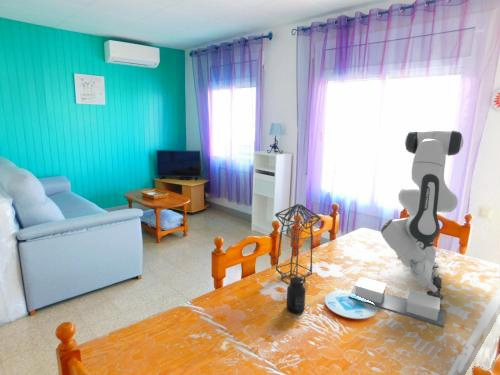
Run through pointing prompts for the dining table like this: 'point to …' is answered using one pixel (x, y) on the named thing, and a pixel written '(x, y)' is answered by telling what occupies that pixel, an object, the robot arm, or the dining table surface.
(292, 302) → the supplement bottle
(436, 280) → the dark grey upright figurine
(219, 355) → the dining table surface
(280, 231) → the geometric lantern
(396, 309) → the grey mounting plate
